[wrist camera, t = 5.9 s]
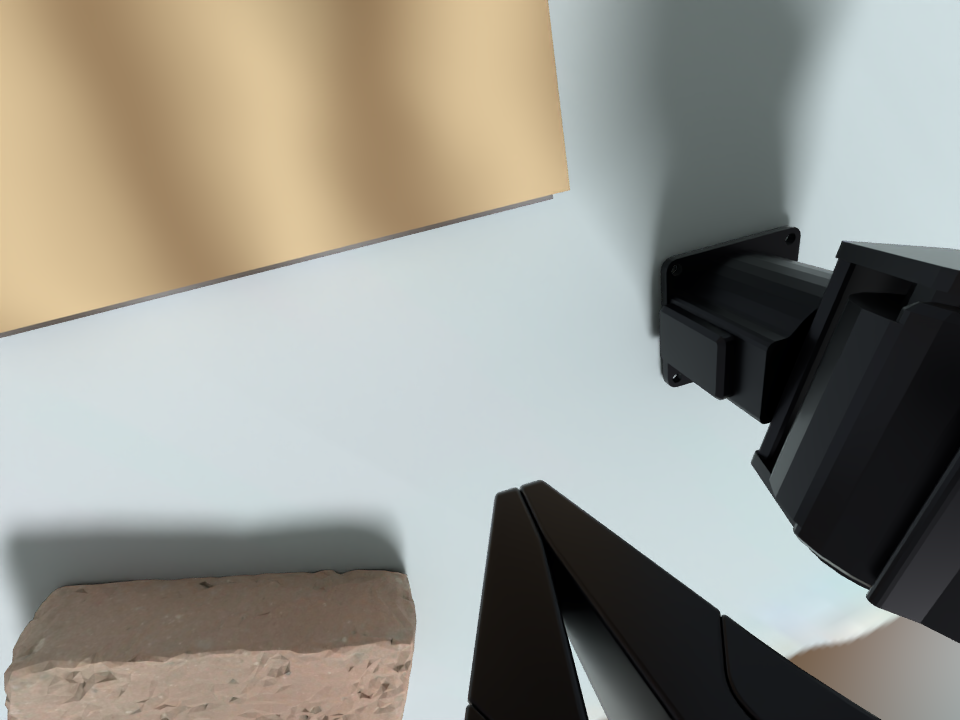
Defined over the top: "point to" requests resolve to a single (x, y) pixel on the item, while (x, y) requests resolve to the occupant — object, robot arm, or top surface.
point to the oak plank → (254, 135)
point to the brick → (219, 649)
